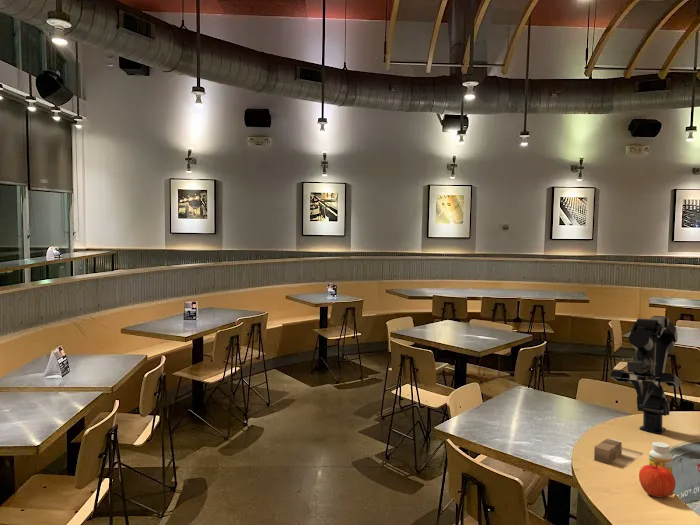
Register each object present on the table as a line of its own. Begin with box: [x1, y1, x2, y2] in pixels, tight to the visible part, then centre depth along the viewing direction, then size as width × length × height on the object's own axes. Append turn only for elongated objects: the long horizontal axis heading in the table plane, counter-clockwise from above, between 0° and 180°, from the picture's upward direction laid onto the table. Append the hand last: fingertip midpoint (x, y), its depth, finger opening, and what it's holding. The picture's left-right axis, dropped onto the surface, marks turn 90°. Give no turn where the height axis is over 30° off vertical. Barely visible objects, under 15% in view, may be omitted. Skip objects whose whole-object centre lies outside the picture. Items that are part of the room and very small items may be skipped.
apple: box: [638, 463, 676, 498], centre depth 130 cm, size 8×8×8 cm
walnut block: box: [593, 437, 623, 465], centre depth 152 cm, size 4×4×10 cm
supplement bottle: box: [648, 441, 674, 474], centre depth 139 cm, size 5×5×10 cm
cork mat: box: [611, 446, 644, 467], centre depth 154 cm, size 14×8×1 cm, turn 133°
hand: (642, 404), depth 161 cm, fingers closed
